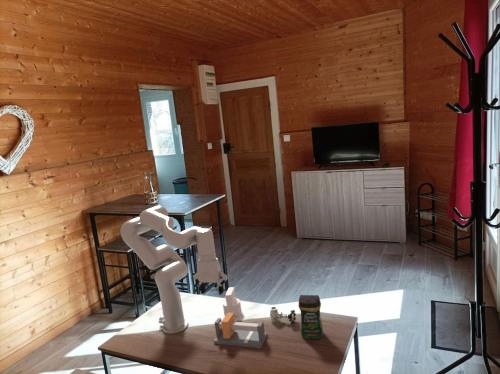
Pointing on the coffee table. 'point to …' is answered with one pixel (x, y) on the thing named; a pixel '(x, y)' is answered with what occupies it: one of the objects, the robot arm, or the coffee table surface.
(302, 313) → the coffee jar
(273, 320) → the valve
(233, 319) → the orange rectangular prism
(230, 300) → the cylinder with rectangular tab
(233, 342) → the slider rail fixture
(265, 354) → the coffee table surface
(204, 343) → the coffee table surface
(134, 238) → the robot arm
